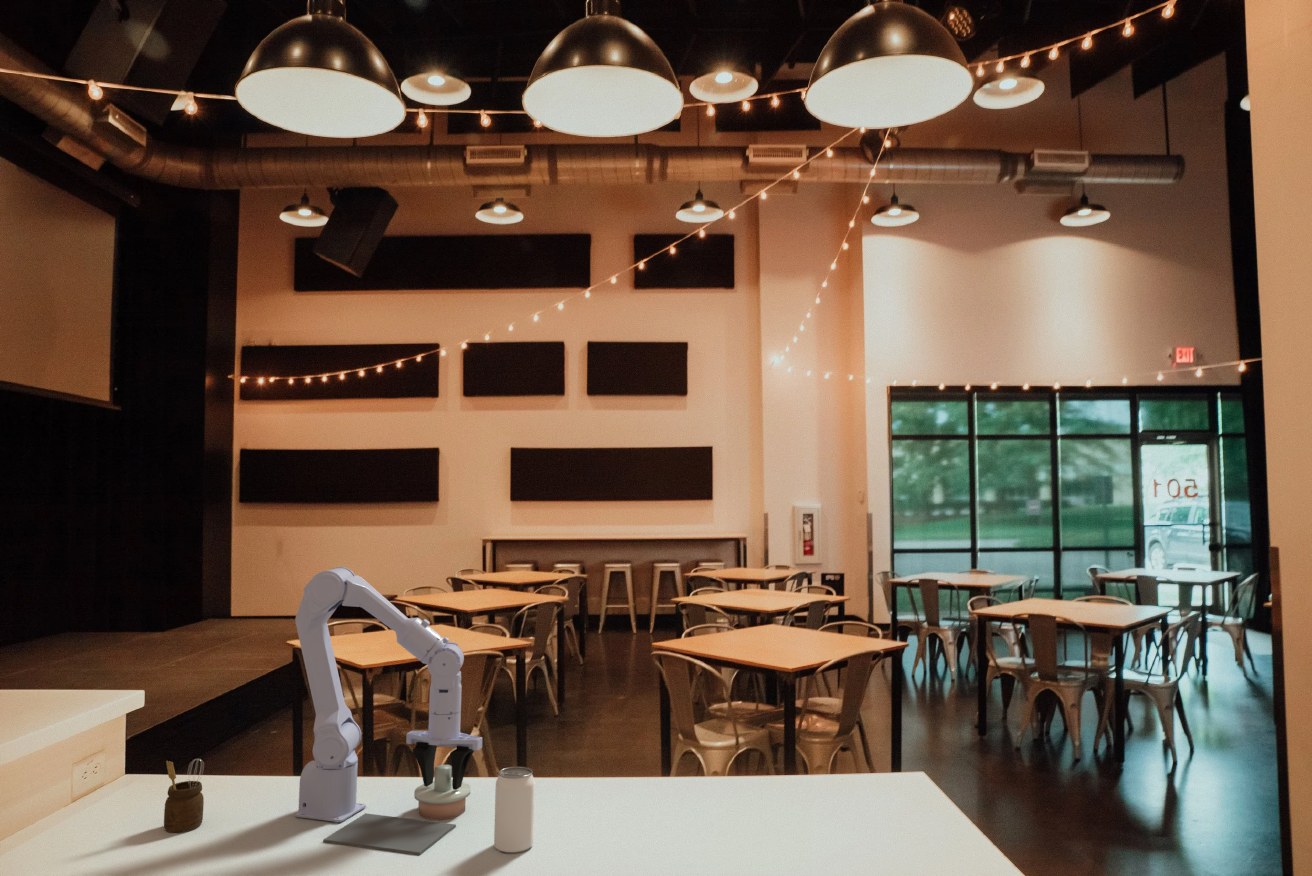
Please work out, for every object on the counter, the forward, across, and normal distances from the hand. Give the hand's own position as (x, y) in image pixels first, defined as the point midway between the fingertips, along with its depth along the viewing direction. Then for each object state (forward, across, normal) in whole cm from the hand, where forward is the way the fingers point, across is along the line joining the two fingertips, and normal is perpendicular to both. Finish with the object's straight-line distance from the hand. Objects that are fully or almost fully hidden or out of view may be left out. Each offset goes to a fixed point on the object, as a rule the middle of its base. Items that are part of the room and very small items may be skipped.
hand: (442, 786), depth 154 cm
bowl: (+4, 0, 0) cm, 4 cm away
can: (+5, +19, -10) cm, 22 cm away
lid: (+1, 0, 0) cm, 1 cm away
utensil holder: (+5, -39, -20) cm, 44 cm away
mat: (+4, -3, -12) cm, 13 cm away
